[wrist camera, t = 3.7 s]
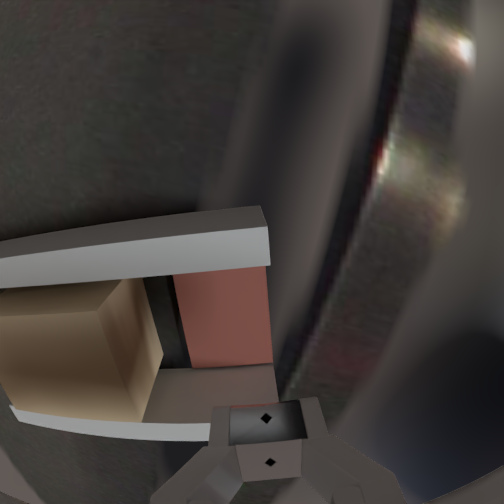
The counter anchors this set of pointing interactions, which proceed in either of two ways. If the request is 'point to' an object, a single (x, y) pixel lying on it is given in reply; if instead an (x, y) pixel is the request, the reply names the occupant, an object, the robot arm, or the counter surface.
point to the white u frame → (146, 265)
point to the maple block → (79, 349)
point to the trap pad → (225, 316)
